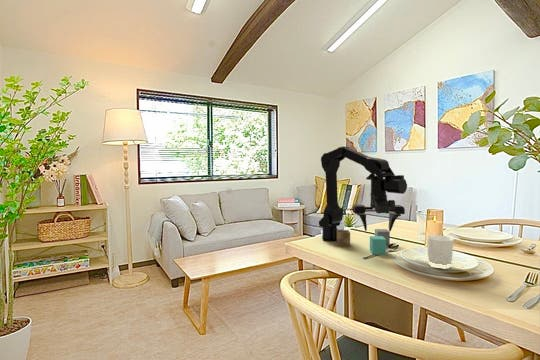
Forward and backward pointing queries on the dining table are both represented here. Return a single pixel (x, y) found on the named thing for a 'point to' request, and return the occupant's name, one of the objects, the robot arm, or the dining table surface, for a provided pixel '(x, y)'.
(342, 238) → the walnut block
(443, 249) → the white cup
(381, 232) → the grey block
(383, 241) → the teal block
